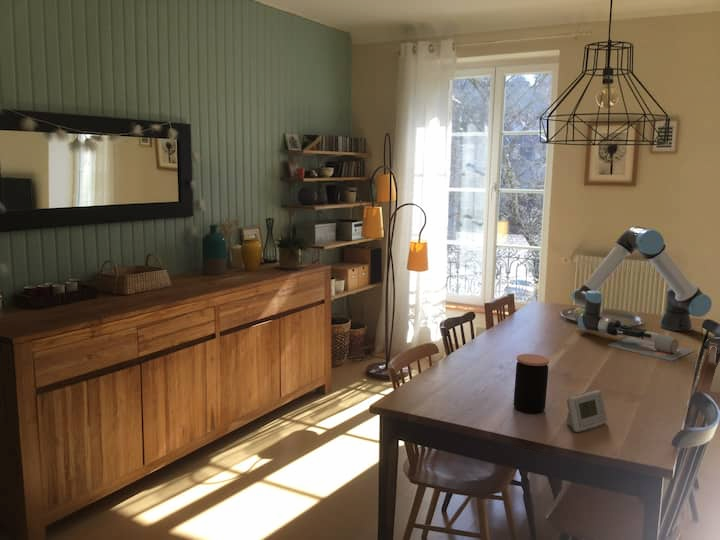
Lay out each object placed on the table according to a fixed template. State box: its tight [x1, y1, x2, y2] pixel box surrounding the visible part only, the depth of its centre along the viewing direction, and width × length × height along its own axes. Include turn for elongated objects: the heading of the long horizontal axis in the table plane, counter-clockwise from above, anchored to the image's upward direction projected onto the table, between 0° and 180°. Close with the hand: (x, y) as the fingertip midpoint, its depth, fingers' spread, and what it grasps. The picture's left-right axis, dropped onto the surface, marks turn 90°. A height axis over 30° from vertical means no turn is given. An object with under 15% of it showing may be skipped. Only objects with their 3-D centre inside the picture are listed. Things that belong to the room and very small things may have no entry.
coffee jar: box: [512, 353, 550, 415], centre depth 225 cm, size 11×11×18 cm
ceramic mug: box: [654, 333, 680, 353], centre depth 300 cm, size 11×8×8 cm
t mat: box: [606, 336, 694, 362], centre depth 305 cm, size 24×30×1 cm
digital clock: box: [566, 389, 608, 433], centre depth 213 cm, size 16×9×11 cm, turn 113°
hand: (658, 337), depth 302 cm, fingers closed
